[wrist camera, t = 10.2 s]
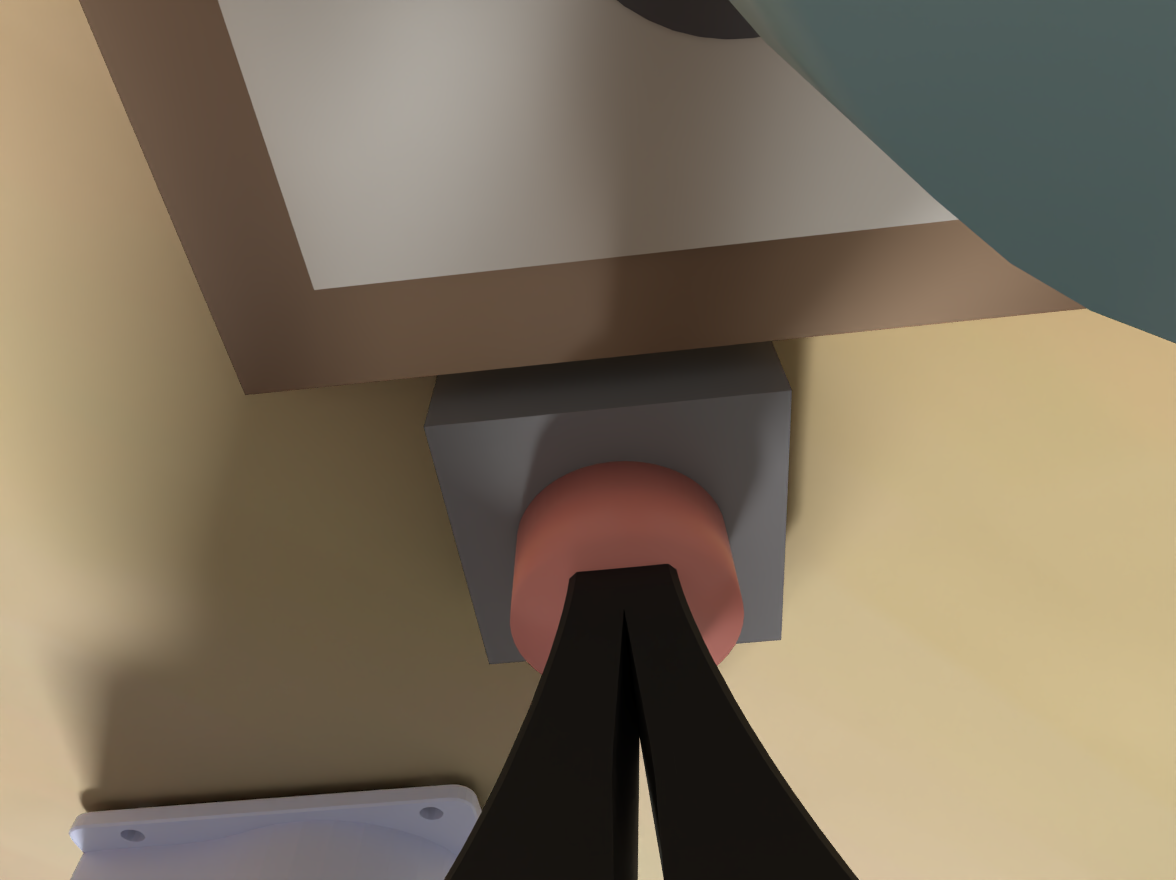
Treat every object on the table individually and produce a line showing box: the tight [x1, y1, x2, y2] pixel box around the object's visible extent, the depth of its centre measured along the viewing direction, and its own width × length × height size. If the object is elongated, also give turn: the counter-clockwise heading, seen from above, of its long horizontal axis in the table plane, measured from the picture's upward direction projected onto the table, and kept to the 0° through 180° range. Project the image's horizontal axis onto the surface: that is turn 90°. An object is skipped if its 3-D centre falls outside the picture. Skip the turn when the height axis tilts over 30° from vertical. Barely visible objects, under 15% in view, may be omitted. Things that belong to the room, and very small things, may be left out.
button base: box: [424, 341, 792, 664], centre depth 13 cm, size 5×5×2 cm
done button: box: [510, 461, 744, 674], centre depth 12 cm, size 3×3×2 cm
